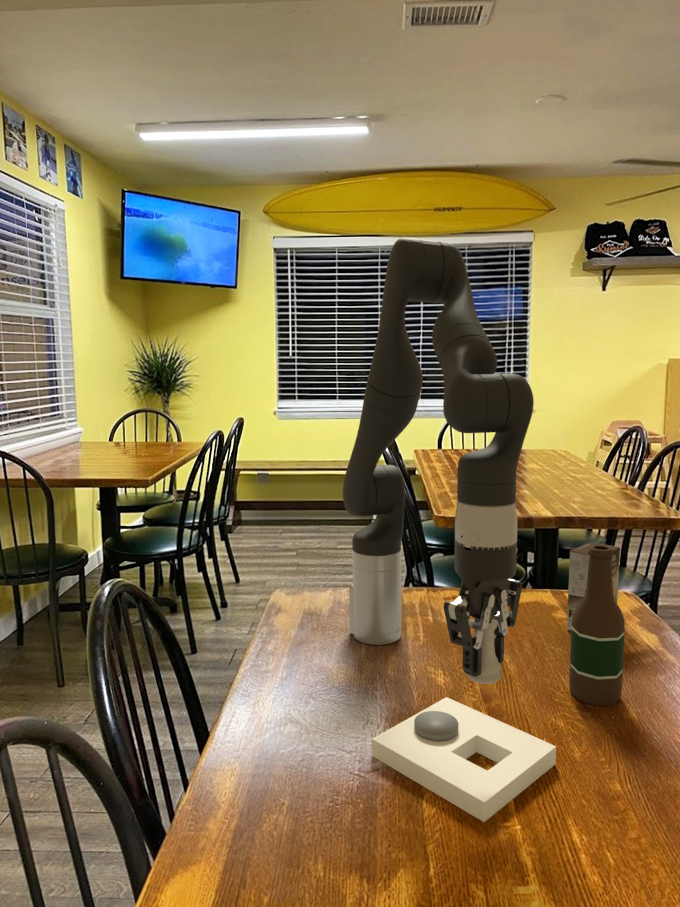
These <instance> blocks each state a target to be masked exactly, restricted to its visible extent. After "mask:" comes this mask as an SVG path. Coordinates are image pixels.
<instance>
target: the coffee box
mask: <svg viewBox="0 0 680 907" xmlns="http://www.w3.org/2000/svg"><path fill="white" fill-rule="evenodd" d="M596 545H602V546H607V547H609V548H611V549H613V552H614V556H612V582H613V595H614V600H615V602H616V603H617V604H618V598H619V596H618V595H619V594H618V593H619V580H620V576H619V574H620V556H621V547H620V546H615V545H610V544H609V545H608V544H605V543H596V542H592V541H590V542H588V543H585V544H583V545H580V546H577V547H575V548H573V549H570V550H569V565H568V566H569V568H568V590H567V592H568V593H567V597H568V598H567V611H566V612H567V618H566V630H567V631H570V632H571V624H572V616H573V613H574V611H575V609H576V606H577V605H578V604H579V602H580V601H581V600H582V599H583V598H584V595H585V591H586V586H587V577H588V568H589V558H590V555H589V554H588V551H589V548H590V547H592V546H596Z"/></svg>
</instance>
